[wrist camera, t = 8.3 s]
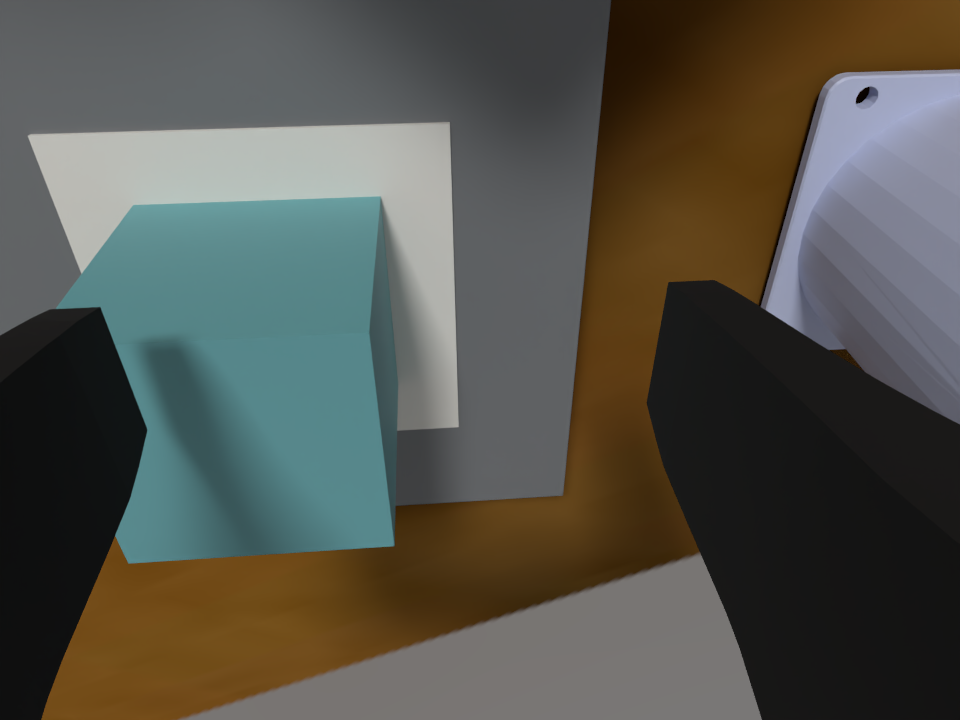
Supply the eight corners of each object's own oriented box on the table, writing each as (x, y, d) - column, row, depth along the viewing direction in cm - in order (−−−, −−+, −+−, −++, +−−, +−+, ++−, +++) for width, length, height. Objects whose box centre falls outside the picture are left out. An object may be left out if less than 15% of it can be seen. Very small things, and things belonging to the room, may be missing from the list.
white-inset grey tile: (583, -74, 15) (617, -56, 12) (546, 426, 23) (563, 497, 21) (-122, -65, 14) (-238, -43, 11) (107, 451, 22) (68, 528, 20)
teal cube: (380, 196, 15) (369, 332, 11) (398, 384, 18) (394, 545, 14) (132, 204, 14) (25, 348, 10) (194, 395, 17) (128, 563, 13)
